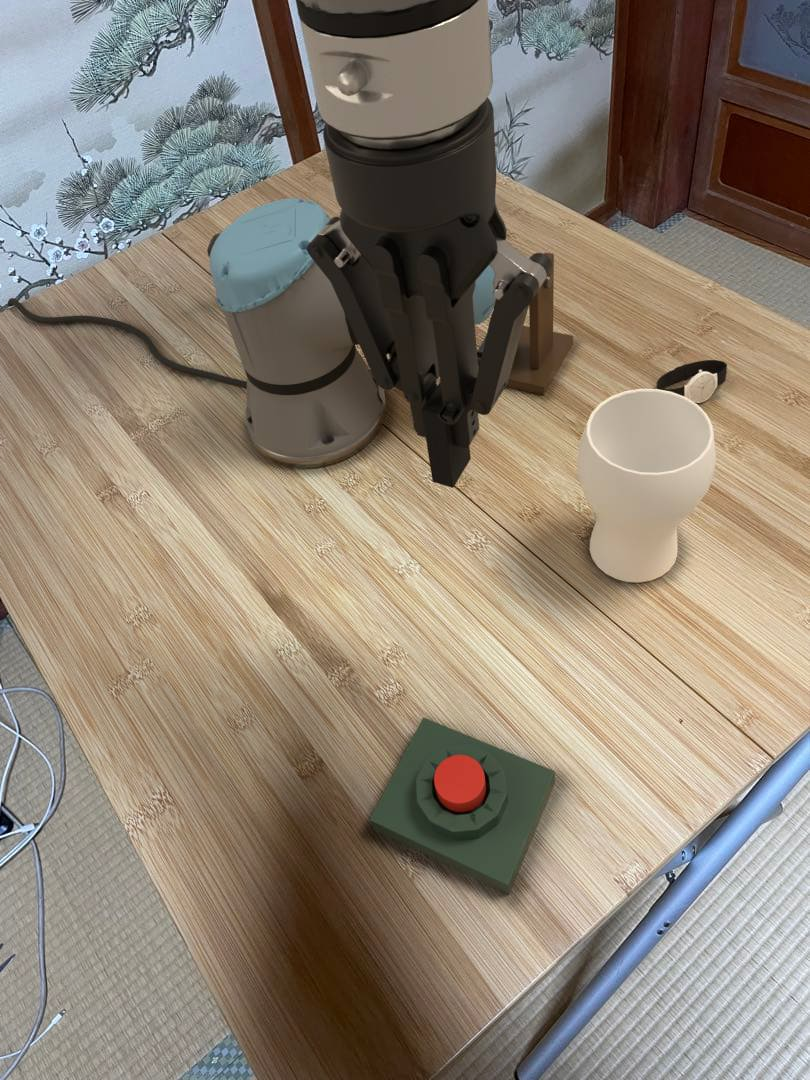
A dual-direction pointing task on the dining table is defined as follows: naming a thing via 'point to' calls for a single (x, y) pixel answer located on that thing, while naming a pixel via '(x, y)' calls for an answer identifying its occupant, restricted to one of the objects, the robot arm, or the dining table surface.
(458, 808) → the button
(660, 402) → the cup
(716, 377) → the watch
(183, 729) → the dining table surface
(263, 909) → the dining table surface
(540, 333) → the bracket
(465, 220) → the robot arm
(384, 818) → the button box
